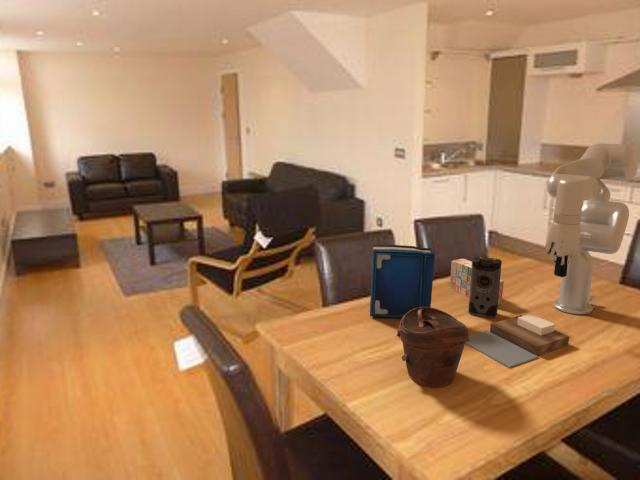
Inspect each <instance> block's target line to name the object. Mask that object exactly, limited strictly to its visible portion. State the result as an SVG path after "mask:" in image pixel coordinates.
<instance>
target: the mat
mask: <svg viewBox="0 0 640 480" xmlns="http://www.w3.org/2000/svg"><path fill="white" fill-rule="evenodd" d="M468 336H469V340H470V342H465V345H468V346H469V347H471V348H473V349H475V350H476V351H478V352H479V353H482V354H483V355H485V356H487V357H489V358H490V359H492V360H494V361H495V362H497V363H499V364H500V365H503V366H504V367H506V368H508V369H510V368H513V367H517V366H519V365H522V364H524V363H528V362H531V361H533V360H536V359H539V355H538V356H536V355H534V354H532V353H530V352H528V351H526V350H524V349H522V348H520V347H518V346H516V345H514V344H512V343H511V342H509V341H507V340H505V339H503V338H501V337H499V336H497V335H495V334H493V333H491V332H490V330H489V331H488V330H483V331H480V332H479V331H478V332H476V333H473V334H468Z"/></svg>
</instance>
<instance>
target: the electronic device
mask: <svg viewBox="0 0 640 480" xmlns="http://www.w3.org/2000/svg"><path fill="white" fill-rule="evenodd" d="M471 261H472V269H471V282H470V297H468V298H469V299H468V300H469V301H468V314H469V315H471V316H475V317H476V316H477V317H482V318H488V319H495V318H496V317H497V314H498V307H499V305H498V297H499V287H500V280H501V275H502V274H501V273H502V260H501V259H499V258H494V257H486V256H485V257H484V256H474V257H473V258H472V260H471Z"/></svg>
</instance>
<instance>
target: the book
mask: <svg viewBox="0 0 640 480" xmlns="http://www.w3.org/2000/svg"><path fill="white" fill-rule="evenodd" d="M435 258H436V252H435V250H433V249H432V248H429V247H418V246H416V245H415V246H414V245H402V244H373V246H372V262H371V285H370V302H369V303H370V304H369V306H370V307H369V317H376V318H385V319H402V318H403V316H404V315H405V314H406V313H407V312H409V311H410V310H412V309H414V308H418V307H431V306H432V295H433V282H434V273H435V272H434V271H435ZM431 308H432V307H431Z"/></svg>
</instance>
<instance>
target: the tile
mask: <svg viewBox="0 0 640 480" xmlns="http://www.w3.org/2000/svg"><path fill="white" fill-rule="evenodd" d="M517 325H519V326H522V327H524V328H526V329H528V330H530V331H532V332H535V333H537V334H539V335H544V334H547V333H550V332H553V331H554V330H555V326H556V323H553V322H552V321H549V320H546V319H544V318H542V317H539V316H538V315H537V316H536V315H534V314H532V313H528V314H526V315H522V317H518V321H517Z"/></svg>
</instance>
